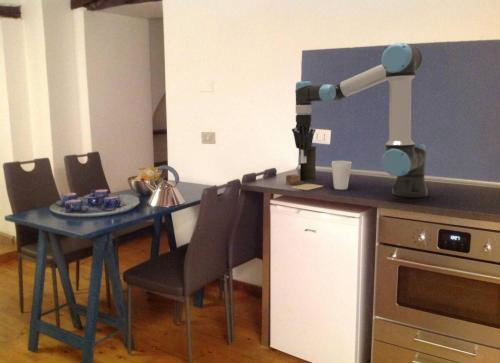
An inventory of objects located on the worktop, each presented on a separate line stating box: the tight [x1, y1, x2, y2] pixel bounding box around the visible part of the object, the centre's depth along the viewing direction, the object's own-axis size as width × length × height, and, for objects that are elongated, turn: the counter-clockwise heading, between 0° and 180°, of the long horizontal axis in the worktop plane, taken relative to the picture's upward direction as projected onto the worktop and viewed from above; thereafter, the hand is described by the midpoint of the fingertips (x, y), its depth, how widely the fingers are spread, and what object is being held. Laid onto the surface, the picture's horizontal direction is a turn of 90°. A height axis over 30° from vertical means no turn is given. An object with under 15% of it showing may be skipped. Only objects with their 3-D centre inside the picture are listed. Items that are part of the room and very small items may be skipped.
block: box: [285, 173, 301, 187], centre depth 233 cm, size 5×5×5 cm
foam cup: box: [331, 160, 352, 190], centre depth 222 cm, size 10×9×13 cm
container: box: [299, 145, 317, 182], centre depth 245 cm, size 9×9×18 cm
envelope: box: [290, 183, 324, 191], centre depth 227 cm, size 10×14×1 cm
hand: (303, 162), depth 227 cm, fingers closed
